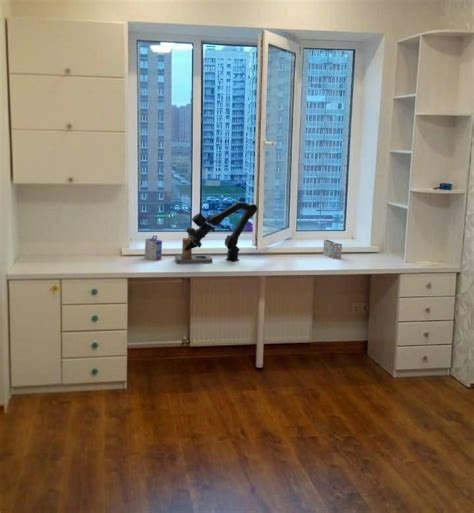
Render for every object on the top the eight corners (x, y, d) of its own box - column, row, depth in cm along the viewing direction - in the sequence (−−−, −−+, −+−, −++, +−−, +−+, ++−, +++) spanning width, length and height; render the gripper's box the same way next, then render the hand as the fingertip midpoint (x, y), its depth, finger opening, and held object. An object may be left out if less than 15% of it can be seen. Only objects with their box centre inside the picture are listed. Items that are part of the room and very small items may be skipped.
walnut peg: (190, 258, 404) (190, 238, 400) (191, 260, 399) (191, 240, 396) (182, 258, 403) (182, 238, 399) (183, 260, 398) (183, 240, 394)
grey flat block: (209, 259, 409) (209, 255, 409) (212, 263, 401) (212, 259, 400) (175, 259, 404) (175, 255, 403) (177, 263, 395) (177, 259, 395)
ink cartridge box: (162, 259, 403) (162, 237, 399) (155, 261, 398) (156, 238, 394) (150, 256, 408) (151, 234, 404) (144, 258, 404) (144, 235, 400)
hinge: (341, 258, 428) (342, 243, 425) (335, 259, 425) (337, 244, 422) (325, 253, 438) (326, 239, 435) (320, 254, 435) (321, 240, 432)
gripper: (191, 219, 404) (173, 236, 405) (196, 225, 387) (178, 243, 387) (203, 231, 408) (185, 248, 409) (209, 238, 391) (190, 256, 391)
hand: (184, 249), depth 399 cm, fingers closed on walnut peg, 5 cm apart
